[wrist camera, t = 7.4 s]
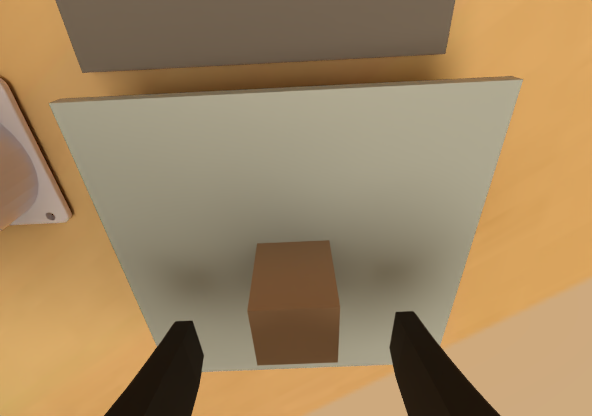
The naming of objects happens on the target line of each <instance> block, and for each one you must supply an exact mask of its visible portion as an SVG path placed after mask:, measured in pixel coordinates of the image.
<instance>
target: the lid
mask: <svg viewBox="0 0 592 416" xmlns="http://www.w3.org/2000/svg"><path fill="white" fill-rule="evenodd" d="M522 81H523V79H520V78H516V77H513V76H505V77H485V78H465V79H445V80H425V81H405V82H385V83H365V84H345V85H325V86H305V87H285V88H265V89H245V90H225V91H205V92H185V93H165V94H145V95H125V96H105V97H86V98H66V99H58V100H56V101H53V102H51V103H49V105H50V107H51V110H52V112H53V114H54V116H55V119H56V121H57V123H58V125H59V128H60V130H61V132H62V134H63V136H64V139H65V141H66V143H67V145H68V148H69V150H70V152H71V154H72V157H73V159H74V161H75V163H76V166H77V168H78V170H79V172H80V175H81V177H82V179H83V181H84V184H85V186H86V188H87V190H88V193H89V195H90V197H91V199H92V202H93V204H94V206H95V208H96V211H97V213H98V215H99V217H100V220H101V222H102V224H103V226H104V229H105V231H106V233H107V235H108V237H109V240H110V242H111V244H112V246H113V249H114V251H115V253H116V255H117V258H118V260H119V262H120V264H121V267H122V269H123V271H124V273H125V276H126V278H127V280H128V282H129V285H130V287H131V289H132V291H133V294H134V296H135V298H136V300H137V303H138V305H139V307H140V309H141V312H142V314H143V316H144V318H145V321H146V323H147V325H148V327H149V329H150V332H151V334H152V336H153V338H154V341H155V343H156V345H157V346H158V345H159V344H160V342H161V341H162V339H163V338H164V336H165V335H166V333H167V332H168V331H169V329H170V328H171V326H172V325H173V323H174V322H175V321H193V323H194V326H195V329H196V332H197V335H198V338H199V341H200V345H201V348H202V351H203V354H204V359H203V366H202V372H213V371H239V370H264V369H290V368H316V367H342V366H368V365H393V363H392V358H391V353H390V349H389V347H390V341H391V335H392V330H393V324H394V318H395V313H396V312H403V311H414V312H415V313H416V315H417V316H418V317H419V319H420V320H421V322H422V323H423V324H424V326H425V327H426V328H427V330H428V331H429V332H430V334H431V335H432V336H433V338H434V339H435V340H436V342H437V343H438V344H439V346H440V344H441V341H442V338H443V334H444V331H445V328H446V325H447V322H448V318H449V315H450V312H451V309H452V306H453V302H454V299H455V296H456V293H457V290H458V286H459V283H460V280H461V277H462V274H463V270H464V267H465V264H466V261H467V258H468V254H469V251H470V248H471V245H472V242H473V238H474V235H475V232H476V229H477V226H478V222H479V219H480V216H481V213H482V210H483V206H484V203H485V200H486V197H487V194H488V190H489V187H490V184H491V181H492V178H493V174H494V171H495V168H496V165H497V162H498V158H499V155H500V152H501V149H502V145H503V142H504V139H505V136H506V133H507V129H508V126H509V123H510V120H511V117H512V113H513V110H514V107H515V104H516V101H517V97H518V94H519V91H520V88H521V85H522Z"/></svg>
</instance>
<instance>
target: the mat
mask: <svg viewBox="0 0 592 416" xmlns="http://www.w3.org/2000/svg"><path fill="white" fill-rule="evenodd" d="M56 3H57V6H58V8H59V11H60V14H61V16H62V19H63V22H64V25H65V27H66V30H67V33H68V35H69V38H70V41H71V43H72V46H73V49H74V51H75V54H76V57H77V59H78V62H79V65H80V67H81V70H82V73H87V72H106V71H126V70H145V69H164V68H184V67H203V66H222V65H241V64H261V63H280V62H299V61H318V60H338V59H357V58H376V57H395V56H415V55H434V54H445V53H446V47H447V42H448V37H449V31H450V26H451V20H452V15H453V9H454V4H455V0H56Z"/></svg>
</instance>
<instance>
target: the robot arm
mask: <svg viewBox="0 0 592 416" xmlns="http://www.w3.org/2000/svg"><path fill="white" fill-rule="evenodd" d="M51 213H52V214H54V216H53V215H52V214H51ZM71 217H72V213H71V211H70V209H69V207H68V205H67V203H66V201H65V199H64V197H63V195H62V193H61V191H60V189H59V187H58V185H57V183H56V181H55V179H54V177H53V175H52V173H51V171H50V169H49V167H48V165H47V163H46V161H45V159H44V157H43V155H42V153H41V151H40V149H39V147H38V145H37V143H36V141H35V139H34V137H33V135H32V133H31V131H30V129H29V127H28V125H27V123H26V120H25V118H24V116H23V114H22V112H21V110H20V108H19V106H18V104H17V102H16V100H15V98H14V96H13V94H12V92H11V90H10V88H9V86H8V85H7V84H6V82H5V81H4V80H2V79H1V78H0V231H2V230H3V229H4V228H6V227H7V226H8V225H23V224H45V223H64V222H67V221H68V220H69V219H70V218H71ZM389 349H390V353H391V358H392V363H393V367H394V372H395V376H396V380H397V383H398V386H399V389H400V392H401V395H402V398H403V401H404V404H405V407H406V410H407V413H408V416H500V415H499V414H498V413H497V411H496V410H495V409H494V408H493V407H492V406H491V405H490V404H489V403H488V402H487V401H486V400H485V399H484V398H483V396H482V395H481V394H480V393H479V392H478V391H477V390H476V389H475V388H474V386H473V385H472V384H471V383H470V382H469V381H468V380H467V379H466V377H465V376H464V375H463V374H462V373H461V371H460V370H459V369H458V368H457V367H456V365H455V364H454V363H453V362H452V361H451V359H450V358H449V357H448V356H447V354H446V353H445V352H444V351H443V349H442V348H441V347H440V346H439V344H438V343H437V342H436V340H435V339H434V338H433V336H432V335H431V334H430V332H429V331H428V330H427V328H426V327H425V326H424V324H423V323H422V322H421V320H420V319H419V317H418V316H417V315H416V313H415V312H414V311H403V312H396V313H395V318H394V324H393V330H392V335H391V341H390V347H389ZM203 359H204V354H203V351H202V348H201V345H200V341H199V338H198V335H197V332H196V329H195V326H194V323H193V321H175V322H174V323H173V325H172V326H171V328H170V329H169V331H168V332H167V333H166V335H165V336H164V338H163V339H162V341H161V342H160V344H159V345H158V346H157V348H156V349H155V351H154V352H153V353H152V355H151V356H150V358H149V359H148V360H147V362H146V363H145V364H144V366H143V367H142V368H141V370H140V371H139V372H138V374H137V375H136V376H135V378H134V379H133V380H132V382H131V383H130V384H129V386H128V387H127V388H126V389H125V391H124V392H123V393H122V394H121V396H120V397H119V398H118V399H117V400H116V402H115V403H114V404H113V405H112V407H111V408H110V409H109V410H108V412H107V413H106V414H105V415H104V416H191V414H192V411H193V407H194V403H195V400H196V396H197V392H198V388H199V384H200V378H201V372H202V366H203Z"/></svg>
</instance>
